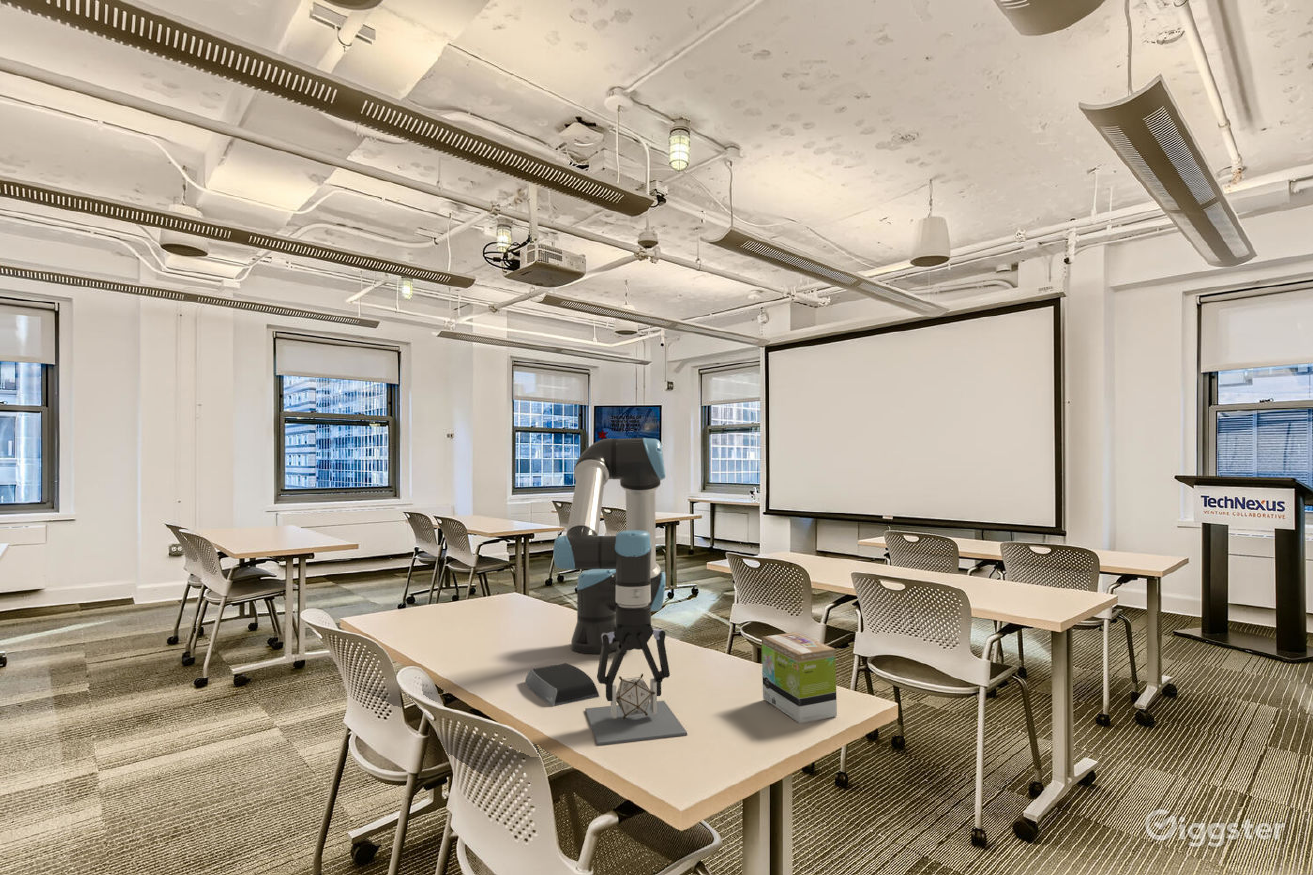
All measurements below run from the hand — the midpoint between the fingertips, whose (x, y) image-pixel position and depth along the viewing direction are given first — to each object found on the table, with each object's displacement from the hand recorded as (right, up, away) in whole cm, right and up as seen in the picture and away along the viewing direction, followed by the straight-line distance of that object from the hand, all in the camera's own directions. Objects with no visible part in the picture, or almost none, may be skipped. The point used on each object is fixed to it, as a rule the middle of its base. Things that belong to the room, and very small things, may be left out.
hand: (633, 713), depth 129 cm
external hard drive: (-18, -4, +20) cm, 28 cm away
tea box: (+36, -2, +7) cm, 37 cm away
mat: (0, -2, 0) cm, 2 cm away
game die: (0, -1, 0) cm, 1 cm away
